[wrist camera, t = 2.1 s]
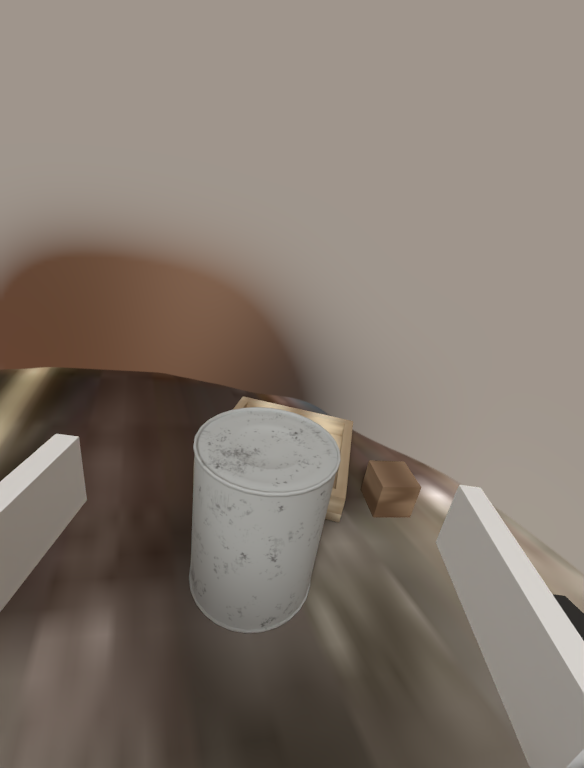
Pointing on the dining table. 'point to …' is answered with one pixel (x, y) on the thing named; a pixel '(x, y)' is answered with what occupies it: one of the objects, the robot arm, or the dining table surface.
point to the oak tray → (342, 436)
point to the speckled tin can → (258, 514)
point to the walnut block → (390, 489)
